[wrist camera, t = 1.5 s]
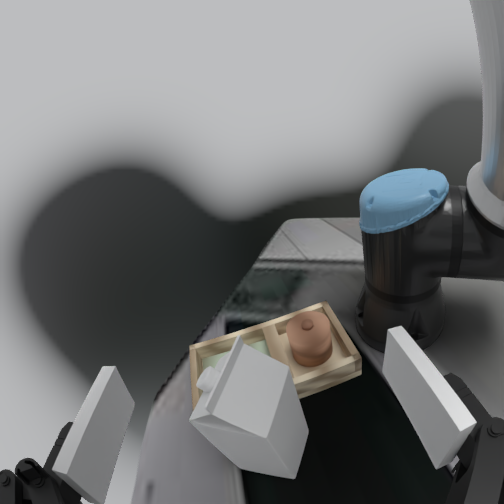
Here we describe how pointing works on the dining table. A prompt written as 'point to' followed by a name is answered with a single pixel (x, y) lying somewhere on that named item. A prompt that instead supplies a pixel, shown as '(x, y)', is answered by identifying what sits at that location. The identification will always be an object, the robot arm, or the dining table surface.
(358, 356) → the caddy
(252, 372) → the milk carton
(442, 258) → the robot arm
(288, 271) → the dining table surface
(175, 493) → the dining table surface
